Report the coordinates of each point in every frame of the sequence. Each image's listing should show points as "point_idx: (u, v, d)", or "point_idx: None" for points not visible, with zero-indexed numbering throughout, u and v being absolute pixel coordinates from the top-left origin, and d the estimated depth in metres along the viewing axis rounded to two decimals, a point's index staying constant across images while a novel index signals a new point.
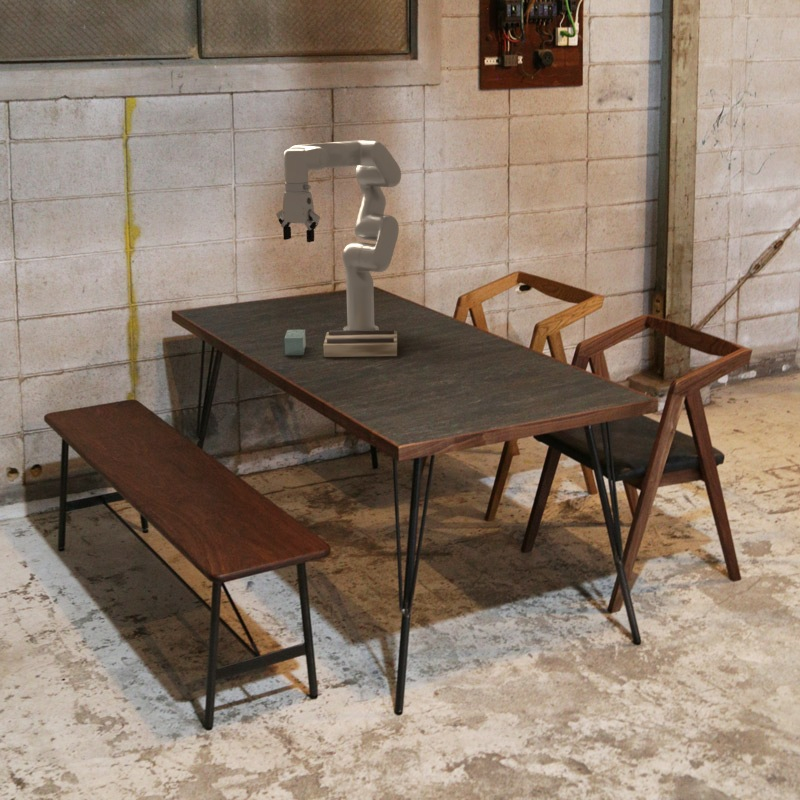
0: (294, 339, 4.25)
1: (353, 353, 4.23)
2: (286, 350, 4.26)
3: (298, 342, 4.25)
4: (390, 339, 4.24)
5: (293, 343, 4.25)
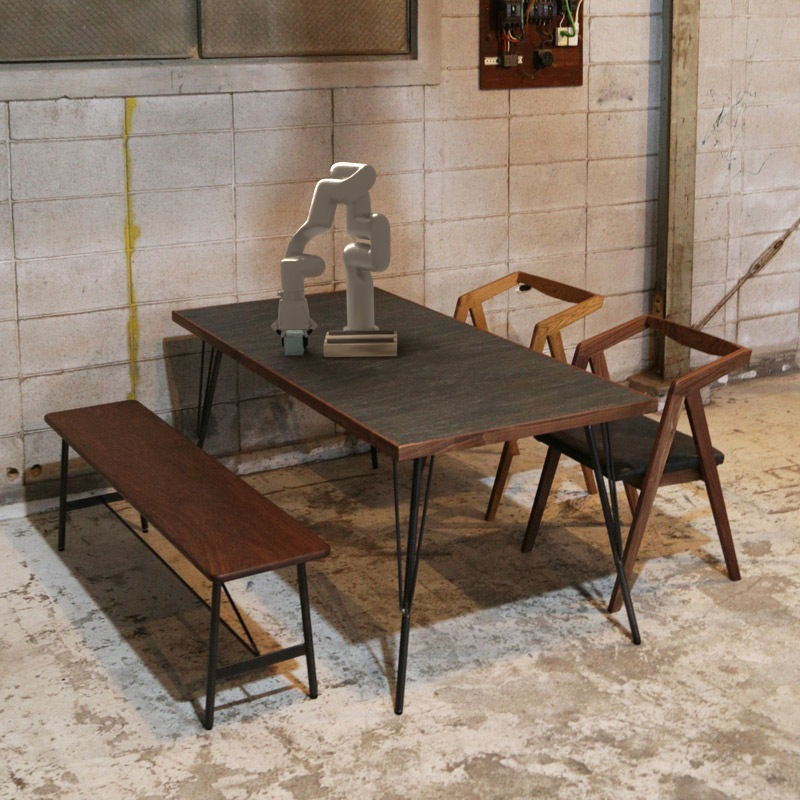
0: (294, 339, 4.25)
1: (353, 353, 4.23)
2: (286, 350, 4.26)
3: (298, 342, 4.25)
4: (390, 339, 4.24)
5: (293, 343, 4.25)
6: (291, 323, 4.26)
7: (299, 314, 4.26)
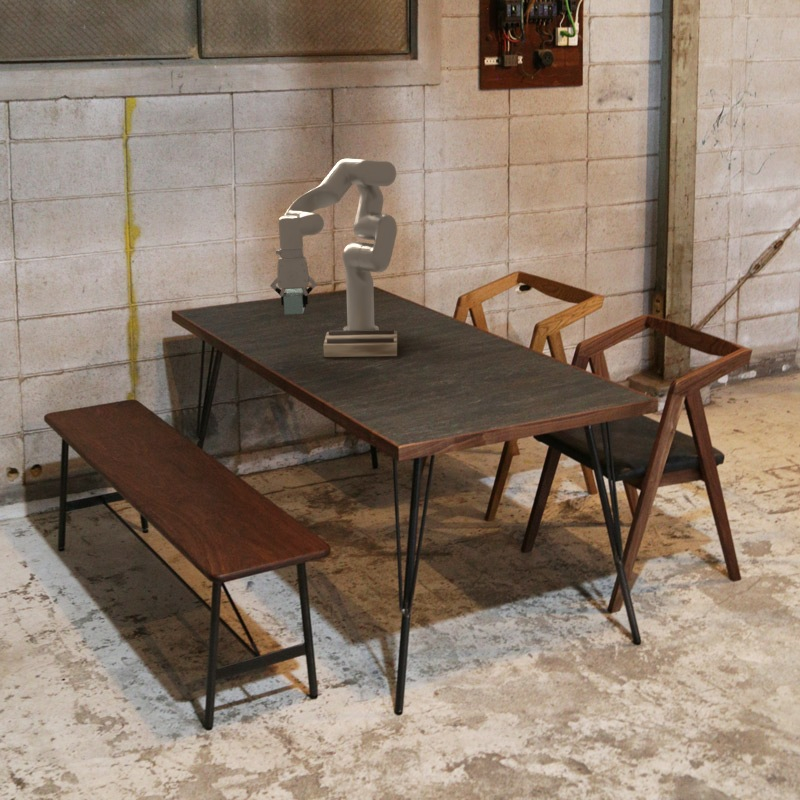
0: (293, 297, 4.21)
1: (353, 353, 4.23)
2: (285, 308, 4.22)
3: (297, 300, 4.21)
4: (390, 339, 4.24)
5: (292, 301, 4.22)
6: (290, 281, 4.23)
7: (298, 272, 4.22)
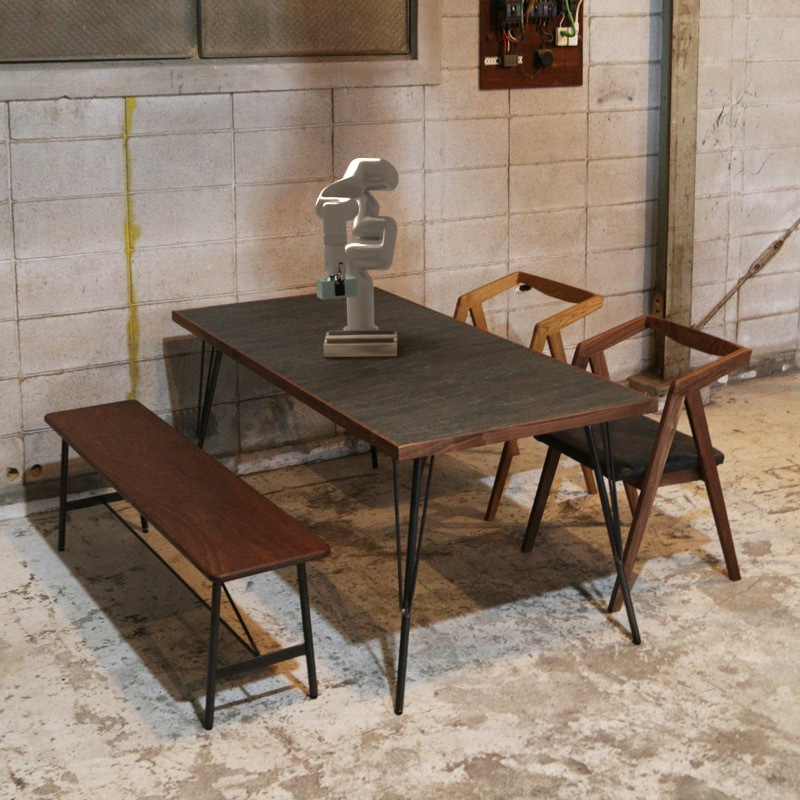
0: (319, 281, 4.23)
1: (353, 353, 4.23)
2: (317, 291, 4.27)
3: (320, 285, 4.22)
4: (390, 339, 4.24)
5: (319, 285, 4.24)
6: (327, 266, 4.24)
7: (329, 259, 4.20)
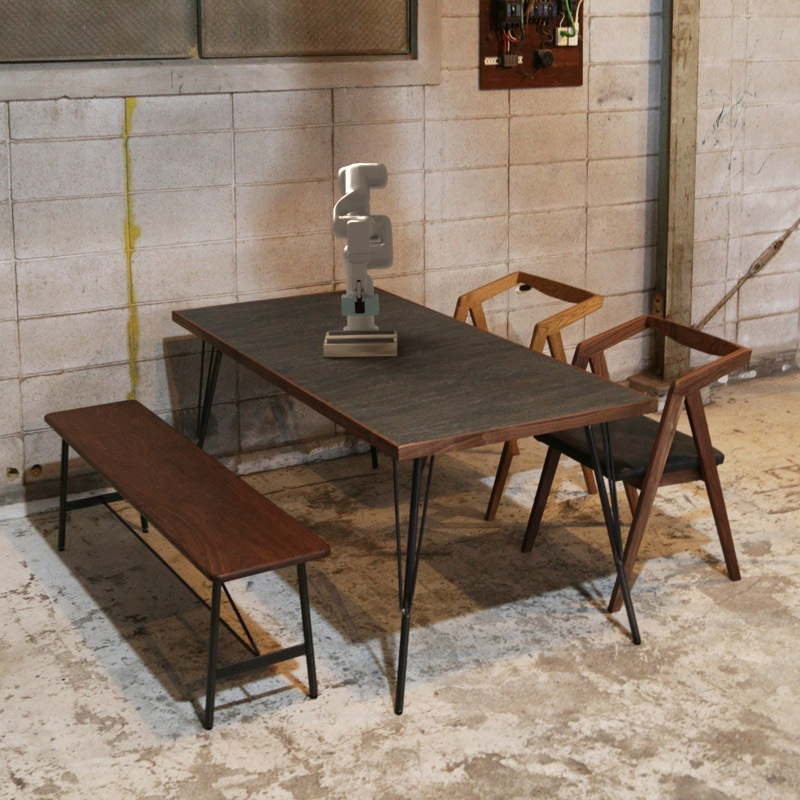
0: None
1: (353, 353, 4.23)
2: None
3: None
4: (390, 339, 4.24)
5: None
6: None
7: None
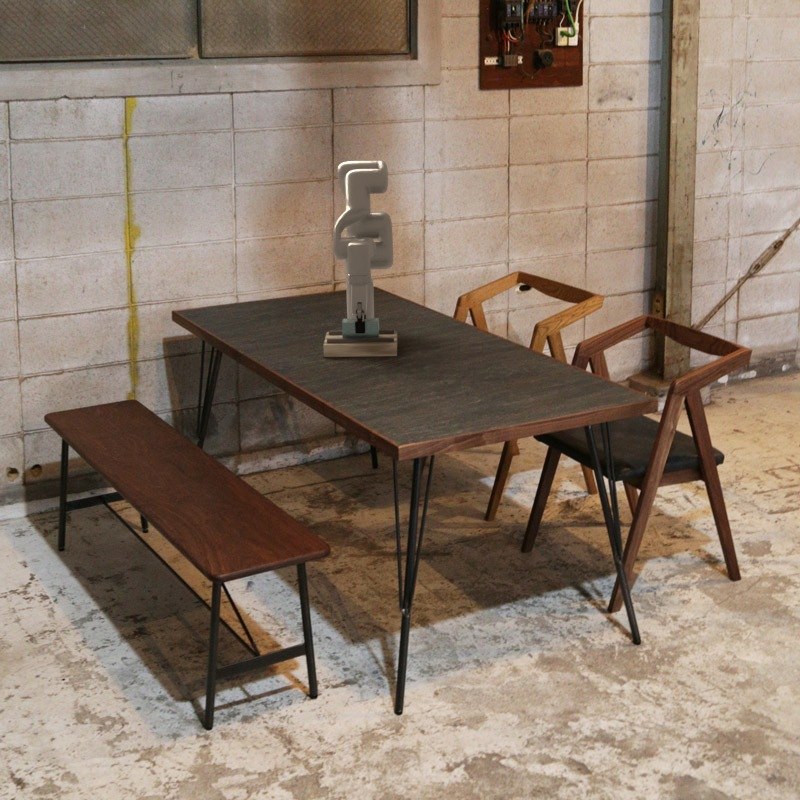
0: None
1: (353, 353, 4.23)
2: None
3: None
4: (390, 339, 4.24)
5: None
6: None
7: None
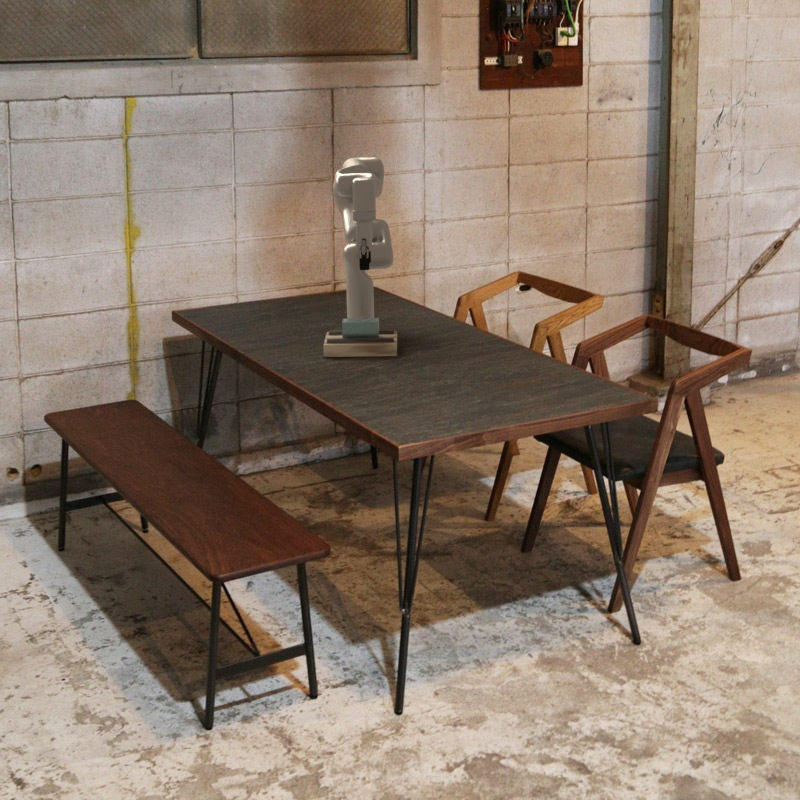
0: None
1: (353, 353, 4.23)
2: None
3: None
4: (390, 339, 4.24)
5: None
6: None
7: None
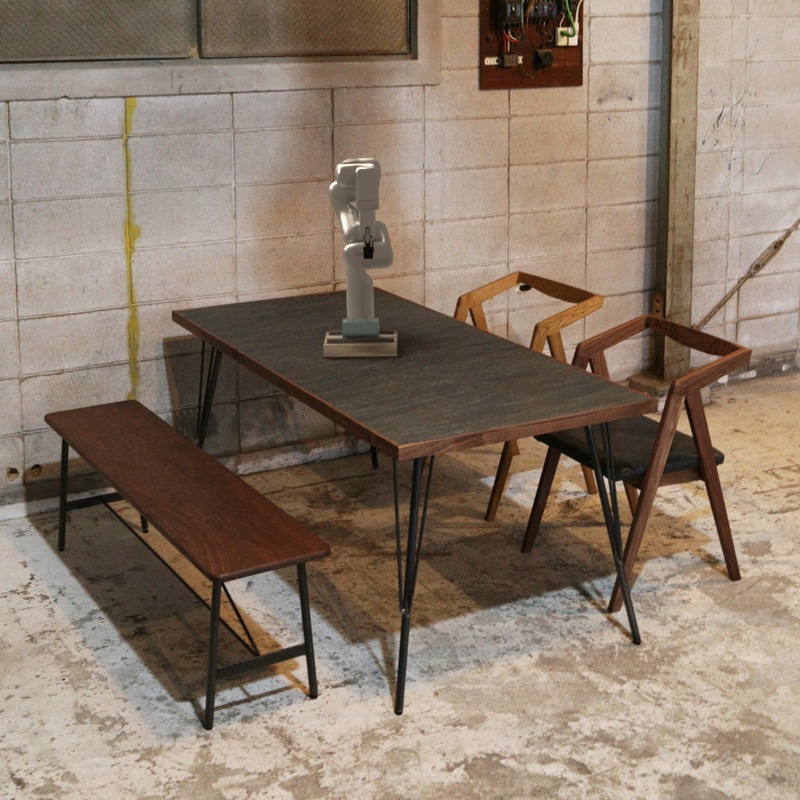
0: None
1: (353, 353, 4.23)
2: None
3: None
4: (390, 339, 4.24)
5: None
6: None
7: (359, 223, 4.25)
